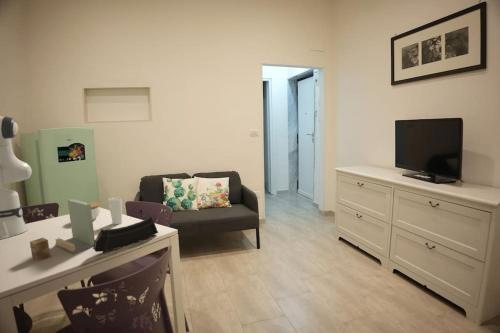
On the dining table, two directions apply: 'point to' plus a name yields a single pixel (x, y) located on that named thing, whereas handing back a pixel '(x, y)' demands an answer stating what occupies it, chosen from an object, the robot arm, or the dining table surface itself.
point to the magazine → (124, 235)
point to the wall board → (79, 228)
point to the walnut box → (40, 249)
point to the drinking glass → (116, 210)
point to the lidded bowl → (95, 210)
